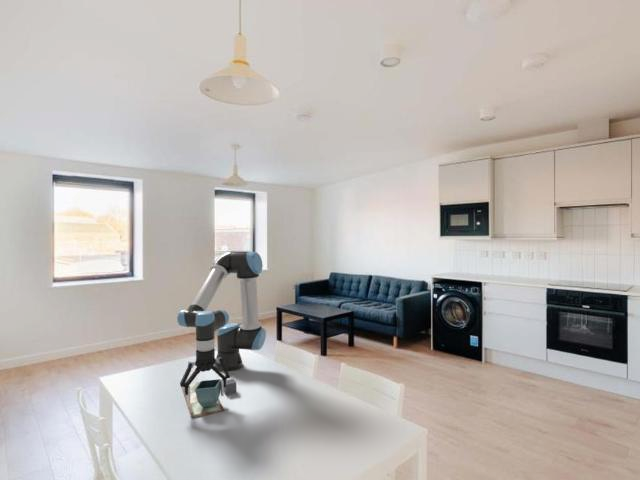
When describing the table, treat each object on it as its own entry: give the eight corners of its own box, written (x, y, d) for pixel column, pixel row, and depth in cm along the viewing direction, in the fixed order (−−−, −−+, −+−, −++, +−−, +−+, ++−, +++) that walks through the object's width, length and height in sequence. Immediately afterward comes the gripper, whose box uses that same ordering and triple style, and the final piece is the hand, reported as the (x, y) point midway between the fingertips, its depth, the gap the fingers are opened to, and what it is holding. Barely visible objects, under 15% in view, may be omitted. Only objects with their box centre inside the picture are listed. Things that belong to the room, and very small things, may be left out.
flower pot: (217, 408, 150) (215, 387, 150) (196, 410, 149) (194, 389, 149) (222, 399, 158) (220, 378, 158) (202, 401, 158) (200, 380, 158)
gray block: (233, 389, 172) (233, 378, 172) (236, 393, 168) (236, 382, 168) (222, 391, 170) (222, 380, 170) (225, 395, 165) (225, 384, 165)
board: (209, 381, 181) (209, 379, 181) (224, 411, 151) (224, 408, 151) (181, 386, 175) (181, 384, 175) (191, 418, 145) (191, 416, 145)
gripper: (232, 341, 162) (233, 388, 162) (172, 350, 150) (173, 401, 151) (236, 346, 155) (237, 395, 156) (174, 356, 144) (175, 408, 144)
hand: (205, 398), depth 153 cm, fingers open, 13 cm apart
